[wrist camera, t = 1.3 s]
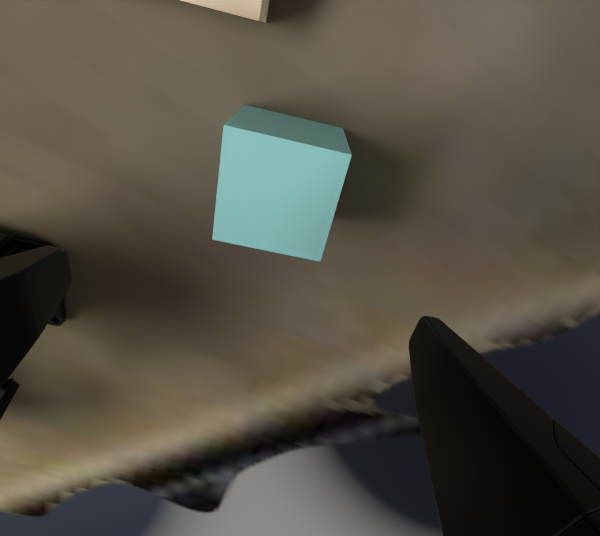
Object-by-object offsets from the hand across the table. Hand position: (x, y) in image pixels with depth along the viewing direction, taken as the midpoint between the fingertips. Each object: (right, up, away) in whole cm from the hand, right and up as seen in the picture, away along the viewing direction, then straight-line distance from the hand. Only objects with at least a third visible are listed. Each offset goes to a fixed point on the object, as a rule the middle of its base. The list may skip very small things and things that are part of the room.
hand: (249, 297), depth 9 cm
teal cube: (0, +6, +10) cm, 12 cm away
